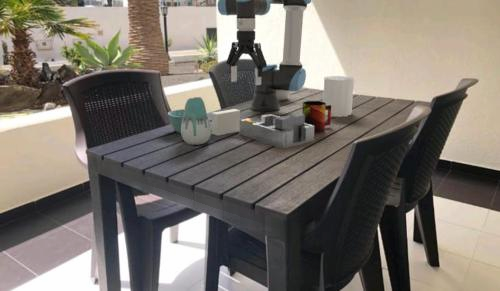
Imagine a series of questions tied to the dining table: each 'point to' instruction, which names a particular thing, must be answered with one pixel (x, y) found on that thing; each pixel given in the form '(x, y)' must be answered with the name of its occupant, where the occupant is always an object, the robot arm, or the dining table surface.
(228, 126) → the block
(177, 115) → the bowl
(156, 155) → the dining table surface
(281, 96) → the planter
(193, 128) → the vase
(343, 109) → the container
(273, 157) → the dining table surface
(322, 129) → the mug
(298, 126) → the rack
